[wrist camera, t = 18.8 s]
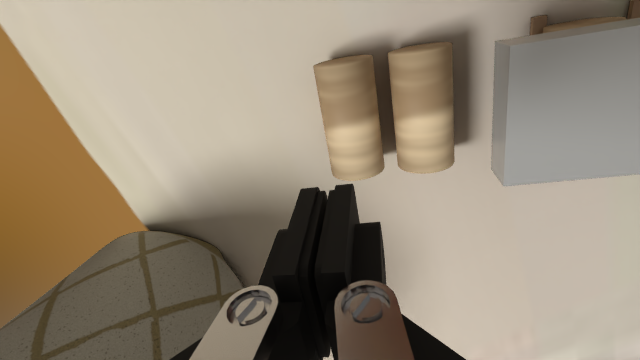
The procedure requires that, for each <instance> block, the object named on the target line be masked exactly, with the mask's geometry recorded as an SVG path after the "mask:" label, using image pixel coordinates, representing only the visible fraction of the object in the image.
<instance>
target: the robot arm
mask: <svg viewBox="0 0 640 360" xmlns="http://www.w3.org/2000/svg"><path fill="white" fill-rule="evenodd" d="M330 348H331V350H332V354H333V358H334V360H466V359H464V358H463V357H462V356H460V355H459V354H457V353H456V352H455V351H453V350H452V349H450V348H449V347H448V346H446V345H445V344H443V343H442V342H440V341H439V340H438V339H436V338H435V337H433V336H432V335H431V334H429V333H428V332H426V331H425V330H424V329H422V328H421V327H419V326H418V325H416V324H415V323H414V322H412V321H411V320H409V319H408V318H407V317H405V316H404V315H402V314H401V312H400V308H399V305H398V301H397V298H396V296H395V294H394V292H393V291H392V290H391V289H390V288H389V287H388V286H387V285H386V272H385V258H384V248H383V239H382V231H381V224H380V222H373V223H359V216H358V210H357V204H356V197H355V191H354V186H353V184H345V185H336V186H335V190H330V191H329V196H328V200H327V195H326V192H325V191H320V190H319V188H318V187H315V188H305V189H301V190H300V193H299V196H298V199H297V202H296V205H295V208H294V211H293V214H292V217H291V220H290V223H289V226H288V229H283V230H279V231H278V233H277V235H276V238H275V241H274V243H273V246H272V249H271V251H270V254H269V257H268V260H267V262H266V265H265V268H264V270H263V273H262V276H261V278H260V281H259V284H258V285H257V286H250V287H247V288H244V289H242V290H240V291H238V292H236V293H235V294H234V295H232V296H231V297H230V298H229V299H228V300H227V301H226V302H225V304H224V305H223V307H222V308H221V310H220V311H219V313H218V315H217V316H216V318H215V319H214V321H213V323H212V324H211V326H210V327H209V329H208V331H207V332H206V334H205V335H204V337H202V338H201V339H199V340H198V341H196V342H195V343H193V344H192V345H190V346H189V347H187V348H186V349H184V350H183V351H181V352H180V353H178V354H177V355H175V356H174V357H172V358H171V359H169V360H323V357H329V355H330Z"/></svg>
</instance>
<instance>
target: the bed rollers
mask: <svg viewBox="0 0 640 360" xmlns="http://www.w3.org/2000/svg"><path fill="white" fill-rule="evenodd" d="M634 18H640V0H630V4H629V9H628V15H627V20H628V19H634ZM546 26H547V15H543V16H537V17H531V27H530V35H536V34H542V33H543V28H544V27H546ZM388 60H389V72H390V83H391V94H392V105H393V116H394V127H395V138H396V149H397V160H398V166H399V168H401V169H402V170H404V171H407V172H411V173H421V174H423V173H434V172H439V171H442V170H445V169H447V168H449V167H451V166H452V165H453V163H454V111H453V51H452V43H450V42H437V43H427V44H420V45H414V46H408V47H404V48H400V49H396V50H393V51H390V52H389V53H388ZM313 67H314V73H315V78H316V84H317V90H318V95H319V101H320V107H321V112H322V118H323V124H324V129H325V135H326V141H327V146H328V152H329V157H330V163H331V169H332V174H333V176H334V177H336V178H338V179H341V180H347V181H355V180H363V179H367V178H371V177H373V176H375V175H377V174H379V173H380V172H382V171H383V169H384V158H383V148H382V139H381V130H380V121H379V111H378V102H377V93H376V83H375V74H374V65H373V56H372V55H356V56H348V57H342V58H337V59H332V60H328V61H325V62H321V63H318V64H316V65H314V66H313Z"/></svg>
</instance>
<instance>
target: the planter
mask: <svg viewBox="0 0 640 360" xmlns="http://www.w3.org/2000/svg"><path fill="white" fill-rule="evenodd" d="M242 289H244V288H243V286H242V284H241V283H240V281H239V279H238V278H237V277H236V275H235V274H234V273H233V271H232V270H231V269H230V268H229V266H228V265H227V264H226V262H225V261H224V259H223V257H222V255H221V252H220V251H219V249H218V248H216V247H215V246H213V245H211V244H209V243H207V242H204V241H201V240H198V239H195V238H191V237H188V236H183V235H179V234H174V233H168V232H160V231H141V232H134V233H130V234H126V235H123V236H121V237H119V238H117V239H115V240H114V241H112V242H110V243H109V244H107V245H106V246H105V247H103V248H102V249H101V250H99V251H98V252H97V253H96V254H95V255H93V256H92V257H91V258H90V259H88V260H87V261H86V262H85V263H83V264H82V265H81V266H80V267H78V268H77V269H76V270H75V271H74V272H72V273H71V274H70V275H68V276H67V277H66V278H64V279H63V280H62V281H61V282H59V283H58V284H57V285H56V286H54V287H53V288H52V289H51V290H49V291H48V292H47V293H46V294H44V295H43V296H42V297H40V298H39V299H38V300H37V301H35V302H34V303H33V304H31V305H30V306H29V307H28V308H26V309H25V310H24V311H23V312H21V313H20V314H19V315H18V316H16V317H15V318H14V319H12V320H11V321H10V322H8V323H7V324H6V325H5V326H3V327H2V328H1V329H0V360H169V359H171V358H172V357H174V356H175V355H177V354H178V353H180V352H181V351H183V350H184V349H186V348H187V347H189V346H190V345H192V344H193V343H195V342H196V341H198V340H199V339H201V338H202V337H204V335H205V334H206V332H207V331H208V329H209V327H210V326H211V324H212V323H213V321H214V319H215V318H216V316H217V315H218V313H219V311H220V310H221V308H222V307H223V305H224V304H225V302H226V301H227V300H228V299H229V298H230V297H231V296H232V295H234V294H235V293H236V292H238V291H240V290H242Z"/></svg>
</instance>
